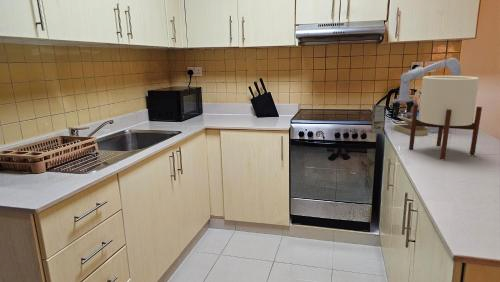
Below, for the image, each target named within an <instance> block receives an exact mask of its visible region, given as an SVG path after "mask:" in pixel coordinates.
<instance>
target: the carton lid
mask: <svg viewBox="0 0 500 282" xmlns="http://www.w3.org/2000/svg"><path fill="white" fill-rule="evenodd" d="M405 114H406V115H405V116H404V117H403V116H399V115H397V118H398V119H400V120H402V121H404V122H405V123H406V124H409V125H412V115H413V112H410V113H409V112H407V113H405ZM409 117H410V118H409ZM416 127H419V128H422V129H426V130H429V129H428V128H427V127H424V126H416Z"/></svg>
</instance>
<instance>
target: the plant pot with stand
mask: <svg viewBox="0 0 500 282" xmlns="http://www.w3.org/2000/svg"><path fill="white" fill-rule="evenodd" d="M479 81H480V78H479V77H477V76H467V75H461V76H452V75H427V76H425V75H424V76H422V81H421V90H420V91H421V93H420V101H419V104H418V103H414V105H413V107H412V113H413V115H412V116H411V117H412V125H411V134H410V135H409V144H408V149H409V150H410V151H413V150H414V146H415V145H414V144H415V137H416V136H415V129H416V126H424V127H426V128H427V127H439V129H438V132H437V137H436V138H437V139H436V146H437V147H441V149H440V158H439V160H441V159H445V160H446V155H447V147H448V146H447V145H448V140H449V131H450V129H453V130H454V129H457V130H469V131H470V130H471V131H472V136H471V143H470V149H469V155H470V154H471V155H470V156H472V155H474V154H475V155H476V148H477V142H478V135H479V129H480V122H481V117H482V110H483V106H476V101H477V96H478V90H479V88H478V87H479ZM475 108H476V111H475ZM418 109H419V111H418ZM474 114H475V116H474ZM473 121H474V122H473ZM443 130H444V132H443ZM475 155H474V156H475Z"/></svg>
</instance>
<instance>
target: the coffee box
mask: <svg viewBox="0 0 500 282" xmlns="http://www.w3.org/2000/svg"><path fill="white" fill-rule="evenodd" d="M386 115H387V106H386V105H384V104H374V105H372V117H371V119H372V120H371V132H372V134H380V135H381V134H385V126H386V125H385V124H386Z"/></svg>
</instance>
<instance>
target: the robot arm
mask: <svg viewBox="0 0 500 282" xmlns="http://www.w3.org/2000/svg"><path fill="white" fill-rule="evenodd" d="M439 68H441V69H442V68H443V69H444V68H447V69H448V70H449V72H450V74H451V75H450V76H463V75H462V69H461V68H462V67H461V63H460V61H459V60H458V59H457V58H456V57H450V58H448V59H447V58H446V59H442V60H439V61H437V62H435V63H431V64H430V65H427V66H425V67H423V66H416V67H415V68H414V69H408V70H407V72H403V73H402V74H401V76H400V84H399V93H398V95H399V97H398V98H394V99H392V106H393V108H394V113H395V115H399V113H400V107H401V103H405V104H406V111H405V112H406V113H407V112H409V113H411V110H412V109H413V106H414V104H415V103H416V98H410V94H411V93H410V92H411V80H415V79H419V78H421V77H425V74H426V73H428V72H431V71H433V70H437V69H439ZM406 113H405V114H406ZM426 128H428V129H429V130H428V133H429V132H430V133H438V129H439V127H426ZM442 133H444V130H443V132H442Z"/></svg>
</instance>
